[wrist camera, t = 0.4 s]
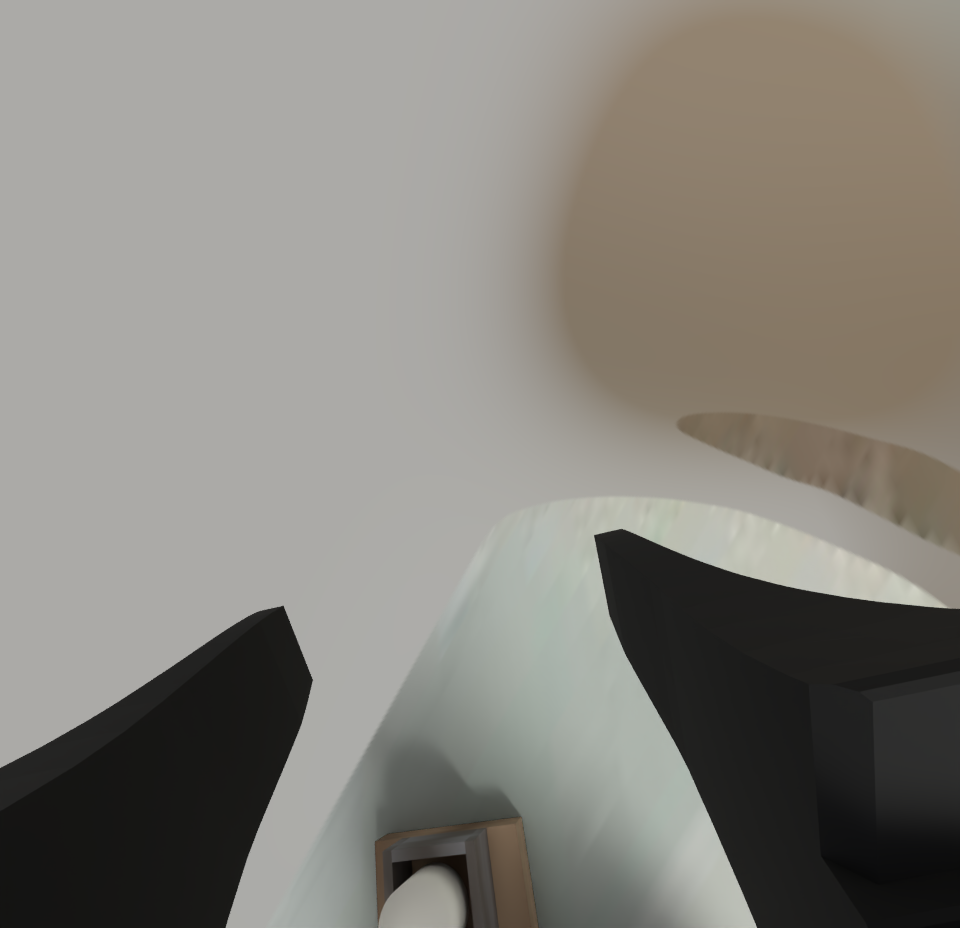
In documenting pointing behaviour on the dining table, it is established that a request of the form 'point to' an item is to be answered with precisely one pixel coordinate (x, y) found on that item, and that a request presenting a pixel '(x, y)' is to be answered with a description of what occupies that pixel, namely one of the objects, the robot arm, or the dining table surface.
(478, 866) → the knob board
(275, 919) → the dining table surface
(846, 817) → the robot arm
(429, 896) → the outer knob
